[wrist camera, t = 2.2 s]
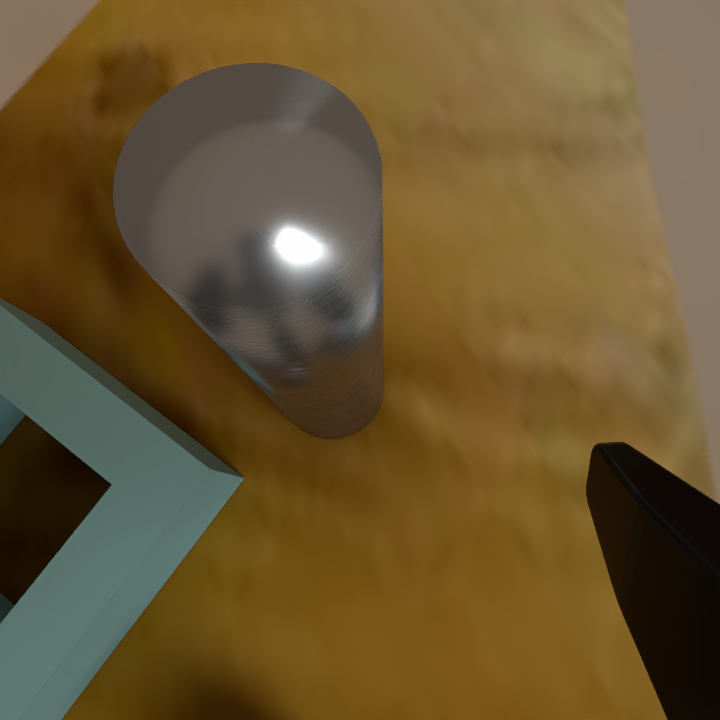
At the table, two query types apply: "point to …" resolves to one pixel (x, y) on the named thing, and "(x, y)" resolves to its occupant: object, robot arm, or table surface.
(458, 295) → the table surface
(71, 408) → the hole block
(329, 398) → the tall pin
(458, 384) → the table surface
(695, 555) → the robot arm
